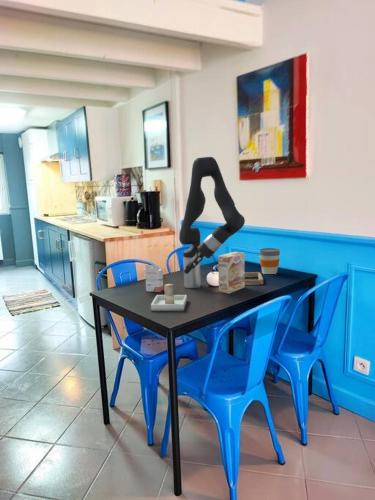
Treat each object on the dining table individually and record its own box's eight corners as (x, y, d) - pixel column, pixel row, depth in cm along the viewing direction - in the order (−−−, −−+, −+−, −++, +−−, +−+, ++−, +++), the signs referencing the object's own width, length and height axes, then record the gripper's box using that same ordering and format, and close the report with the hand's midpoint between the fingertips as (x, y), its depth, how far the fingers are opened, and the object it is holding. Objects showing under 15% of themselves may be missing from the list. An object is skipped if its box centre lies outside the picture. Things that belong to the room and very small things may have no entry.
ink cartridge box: (163, 289, 206) (162, 263, 203) (160, 292, 201) (158, 265, 199) (149, 288, 209) (148, 263, 206) (145, 291, 204) (144, 265, 202)
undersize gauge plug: (165, 302, 181) (164, 284, 179) (174, 302, 180) (174, 283, 179) (164, 305, 176) (163, 286, 175) (173, 304, 176) (172, 286, 174)
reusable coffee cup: (255, 272, 238) (255, 249, 235) (271, 270, 243) (271, 247, 240) (267, 276, 226) (267, 252, 224) (284, 274, 232) (284, 250, 229)
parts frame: (228, 276, 230) (228, 272, 230) (260, 276, 228) (260, 272, 228) (228, 284, 211) (228, 280, 211) (263, 284, 209) (263, 280, 209)
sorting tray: (156, 300, 187) (156, 295, 186) (186, 300, 185) (186, 294, 185) (151, 310, 172) (150, 304, 171) (183, 310, 170) (183, 304, 170)
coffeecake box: (229, 293, 194) (228, 257, 191) (218, 291, 199) (217, 255, 196) (245, 287, 205) (245, 252, 202) (234, 285, 210) (234, 251, 206)
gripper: (204, 238, 178) (181, 262, 181) (203, 242, 164) (178, 268, 168) (216, 248, 179) (193, 272, 182) (215, 254, 165) (190, 280, 168)
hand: (186, 270), depth 175 cm, fingers open, 8 cm apart
